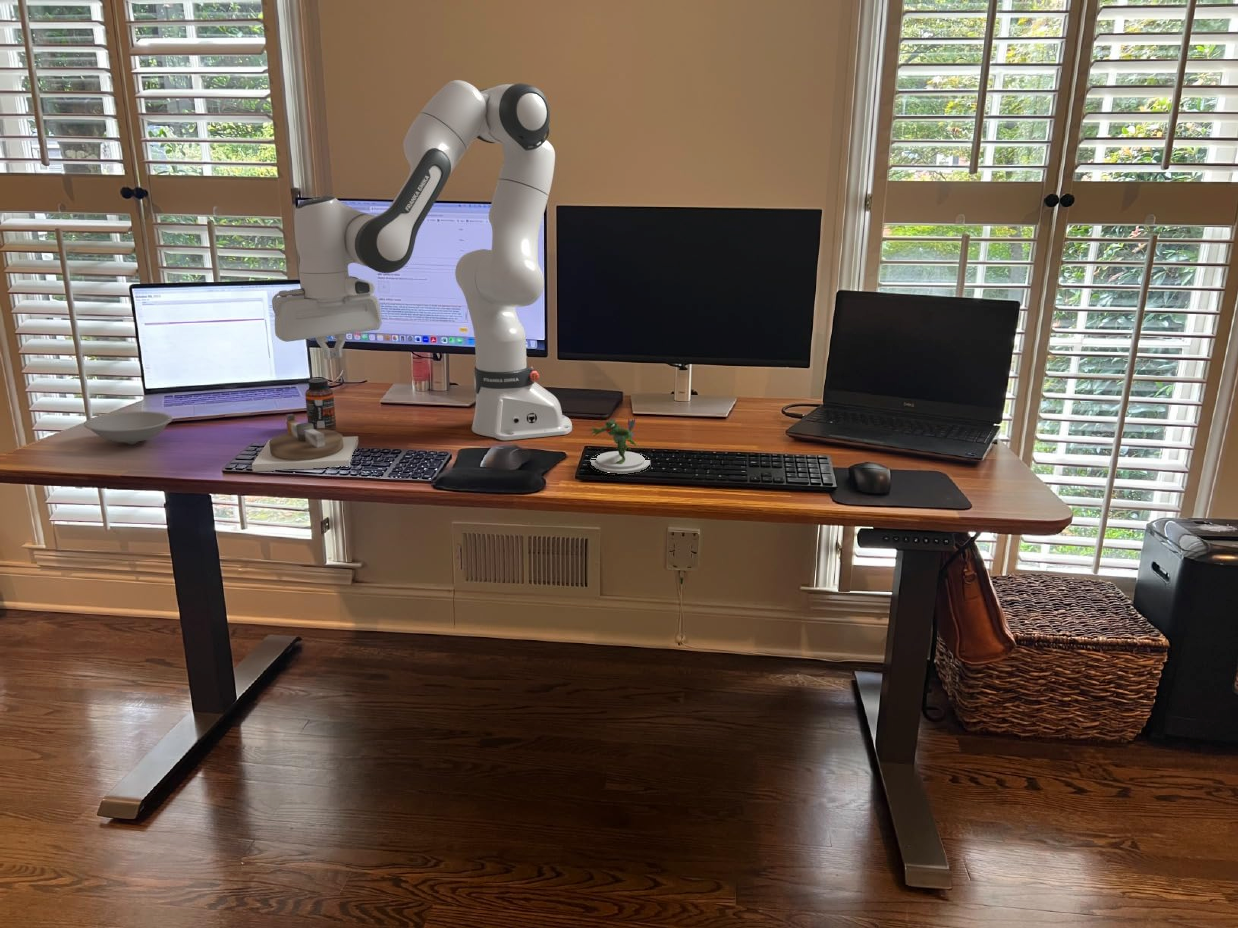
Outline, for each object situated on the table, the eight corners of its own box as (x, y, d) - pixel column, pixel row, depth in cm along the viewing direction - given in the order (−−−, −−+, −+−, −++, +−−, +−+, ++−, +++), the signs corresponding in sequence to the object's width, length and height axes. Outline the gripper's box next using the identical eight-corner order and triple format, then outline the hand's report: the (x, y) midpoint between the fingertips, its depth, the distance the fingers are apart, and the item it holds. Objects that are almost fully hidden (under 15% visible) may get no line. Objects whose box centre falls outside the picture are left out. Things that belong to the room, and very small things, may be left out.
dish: (191, 436, 192) (188, 413, 190) (145, 456, 178) (141, 432, 177) (120, 430, 195) (116, 409, 193) (70, 450, 181) (65, 427, 180)
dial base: (358, 443, 188) (355, 411, 185) (349, 467, 173) (346, 433, 171) (269, 446, 185) (265, 414, 183) (252, 471, 170) (248, 437, 168)
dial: (356, 449, 178) (353, 425, 177) (289, 464, 169) (286, 439, 167) (323, 434, 188) (321, 411, 186) (258, 448, 178) (255, 424, 177)
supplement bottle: (328, 434, 194) (323, 383, 190) (303, 432, 195) (297, 382, 191) (341, 426, 199) (336, 377, 196) (317, 424, 200) (312, 376, 197)
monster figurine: (577, 465, 175) (577, 415, 172) (617, 451, 184) (617, 404, 181) (623, 479, 168) (624, 427, 165) (662, 464, 177) (663, 414, 173)
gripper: (277, 293, 158) (287, 369, 163) (382, 283, 171) (388, 353, 175) (264, 289, 163) (273, 363, 167) (367, 280, 175) (373, 348, 180)
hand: (333, 358), depth 171 cm, fingers closed
